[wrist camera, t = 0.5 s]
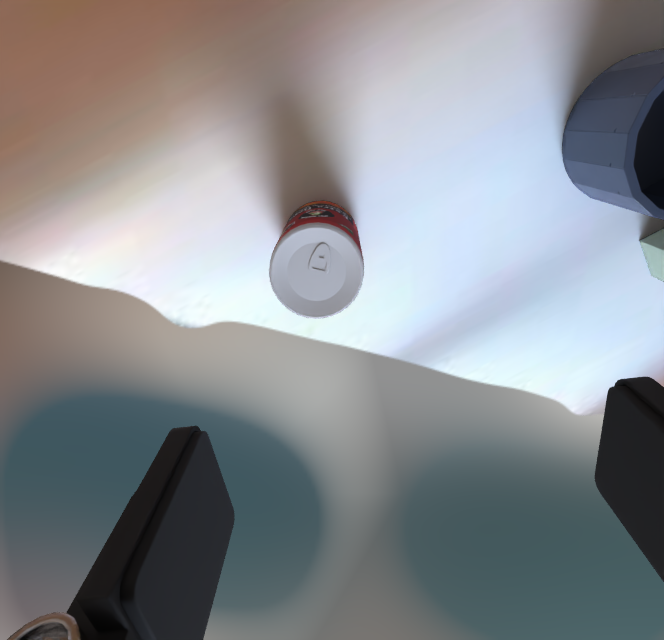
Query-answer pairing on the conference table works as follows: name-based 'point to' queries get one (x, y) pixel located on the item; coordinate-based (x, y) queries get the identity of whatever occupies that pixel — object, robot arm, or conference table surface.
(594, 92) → the pot
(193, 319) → the conference table surface
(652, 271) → the block
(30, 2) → the conference table surface
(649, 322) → the conference table surface
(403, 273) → the conference table surface
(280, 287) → the canned food
